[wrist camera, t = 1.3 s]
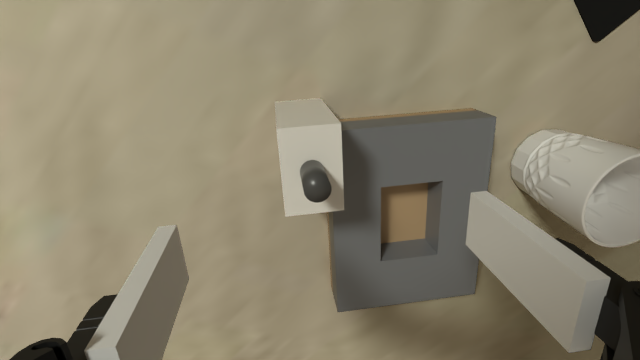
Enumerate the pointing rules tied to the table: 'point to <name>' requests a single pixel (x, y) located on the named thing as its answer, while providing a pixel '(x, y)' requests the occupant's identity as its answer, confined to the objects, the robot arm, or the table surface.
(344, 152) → the socket box
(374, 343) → the table surface
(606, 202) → the white cup
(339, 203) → the plug
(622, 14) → the table lamp
